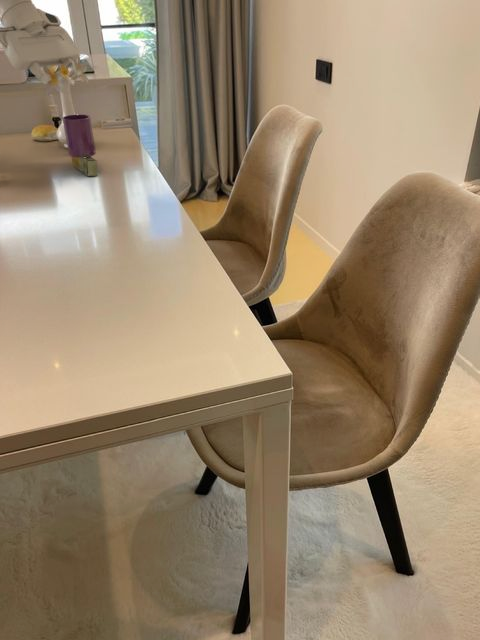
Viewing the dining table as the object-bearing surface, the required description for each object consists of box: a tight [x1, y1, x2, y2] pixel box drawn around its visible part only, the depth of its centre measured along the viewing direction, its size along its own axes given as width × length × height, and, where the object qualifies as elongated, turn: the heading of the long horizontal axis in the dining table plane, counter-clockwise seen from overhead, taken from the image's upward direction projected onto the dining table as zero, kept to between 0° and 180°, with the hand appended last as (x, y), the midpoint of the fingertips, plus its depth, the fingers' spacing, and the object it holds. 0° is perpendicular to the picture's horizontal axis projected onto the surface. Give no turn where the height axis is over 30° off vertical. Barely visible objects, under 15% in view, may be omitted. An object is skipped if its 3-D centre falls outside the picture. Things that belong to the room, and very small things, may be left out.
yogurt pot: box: [61, 113, 97, 158], centre depth 142 cm, size 7×7×9 cm
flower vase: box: [34, 55, 90, 149], centre depth 161 cm, size 13×18×25 cm
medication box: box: [71, 156, 98, 177], centre depth 146 cm, size 12×3×4 cm, turn 35°
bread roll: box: [31, 124, 59, 142], centre depth 175 cm, size 8×9×4 cm
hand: (62, 80), depth 134 cm, fingers open, 8 cm apart
